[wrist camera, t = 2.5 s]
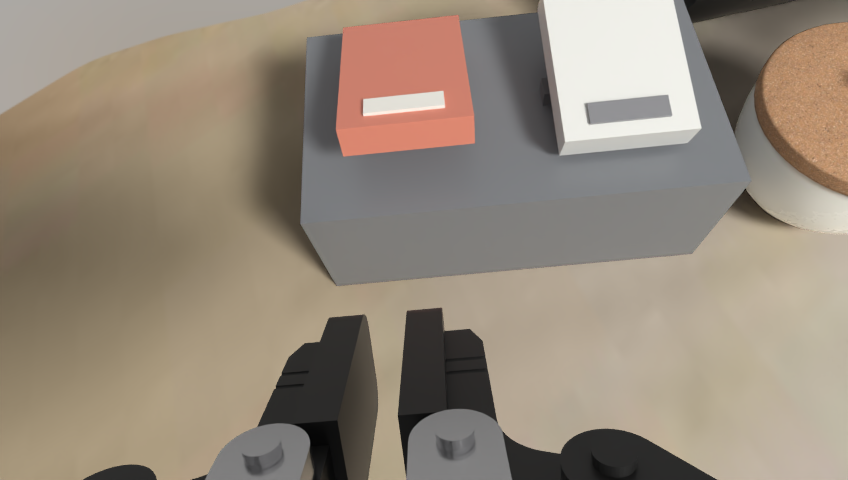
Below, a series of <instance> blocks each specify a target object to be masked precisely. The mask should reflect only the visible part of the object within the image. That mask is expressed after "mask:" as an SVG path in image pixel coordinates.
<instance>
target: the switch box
mask: <svg viewBox="0 0 848 480" xmlns="http://www.w3.org/2000/svg"><path fill="white" fill-rule="evenodd" d="M674 5H675V9H676V14H677V19H678V23H679V28H680V32H681V37H682V41H683V46H684V51H685V55H686V60H687V64H688V69H689V73H690V78H691V82H692V87H693V92H694V96H695V101H696V105H697V110H698V114H699V119H700V124H701V129H700V130H699V132H698V133H697V134H696V135H695V136H694V137H693V138H692V139H691V140H690V141H689V142H688V143H684V144H673V145H663V146H653V147H643V148H633V149H623V150H613V151H602V152H592V153H582V154H572V155H562V156H559V151H558V144H557V138H556V131H555V124H554V118H553V111H552V104H551V98H550V91H549V84H548V77H547V71H546V64H545V57H544V51H543V44H542V37H541V31H540V24H539V17H538V12H537V13H528V14H519V15H510V16H500V17H491V18H482V19H473V20H464V21H459V22H460V29H461V35H462V41H463V48H464V54H465V60H466V67H467V73H468V79H469V86H470V92H471V98H472V105H473V111H474V126H475V143H474V144H464V145H454V146H444V147H434V148H424V149H414V150H404V151H394V152H384V153H374V154H364V155H354V156H344V157H343V154H342V150H341V147H340V143H339V139H338V136H337V132H336V120H337V106H338V93H339V79H340V65H341V52H342V38H343V34H335V35H326V36H317V37H308V38H307V51H306V79H305V107H304V135H303V163H302V192H301V220H300V224H301V226H302V228H303V229H304V231H305V233H306V234H307V236H308V238H309V240H310V241H311V243H312V245H313V246H314V248H315V250H316V252H317V253H318V255H319V257H320V258H321V260H322V262H323V263H324V265H325V267H326V269H327V270H328V272H329V274H330V275H331V277H332V279H333V280H334V282H335V284H336V286H341V285H352V284H363V283H374V282H385V281H396V280H407V279H419V278H430V277H441V276H452V275H463V274H474V273H485V272H496V271H507V270H518V269H529V268H540V267H551V266H562V265H573V264H584V263H595V262H606V261H617V260H628V259H639V258H650V257H661V256H672V255H683V254H692V253H693V252H694V251H695V249H696V248H697V247H698V246H699V245H700V243H701V242H702V241H703V240H704V238H705V237H706V236H707V235H708V234H709V232H710V231H711V230H712V229H713V227H714V226H715V225H716V224H717V223H718V221H719V220H720V219H721V218H722V217H723V215H724V214H725V213H726V212H727V210H728V209H729V208H730V207H731V206H732V204H733V203H734V202H735V201H736V199H737V198H738V197H739V196H740V195H741V193H742V192H743V191H744V190H745V189H746V187H747V186H748V185H749V184H750V182H751V181H752V180H751V178H750V175H749V172H748V170H747V167H746V164H745V162H744V159H743V156H742V154H741V151H740V149H739V146H738V143H737V141H736V138H735V135H734V133H733V130H732V127H731V125H730V122H729V119H728V117H727V114H726V111H725V109H724V106H723V104H722V101H721V98H720V96H719V93H718V90H717V88H716V85H715V82H714V80H713V77H712V74H711V72H710V69H709V67H708V64H707V61H706V59H705V56H704V53H703V51H702V48H701V45H700V43H699V40H698V37H697V35H696V32H695V29H694V27H693V24H692V22H691V19H690V16H689V14H688V11H687V8H686V6H685V3H684V0H674Z"/></svg>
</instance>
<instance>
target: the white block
mask: <svg viewBox="0 0 848 480" xmlns="http://www.w3.org/2000/svg"><path fill="white" fill-rule="evenodd" d="M537 11H538V17H539V24H540V31H541V37H542V44H543V51H544V57H545V64H546V71H547V77H548V84H549V91H550V98H551V104H552V111H553V118H554V124H555V131H556V138H557V144H558V151H559V156H562V155H572V154H582V153H592V152H602V151H613V150H623V149H633V148H643V147H653V146H663V145H673V144H684V143H688V142H689V141H690V140H691V139H692V138H693V137H694V136H695V135H696V134H697V133H698V132H699V130H700V129H701V124H700V119H699V114H698V110H697V105H696V101H695V96H694V92H693V87H692V82H691V78H690V73H689V69H688V64H687V60H686V55H685V51H684V46H683V41H682V37H681V32H680V28H679V23H678V19H677V14H676V9H675V5H674V0H539V4H538V9H537Z"/></svg>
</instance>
